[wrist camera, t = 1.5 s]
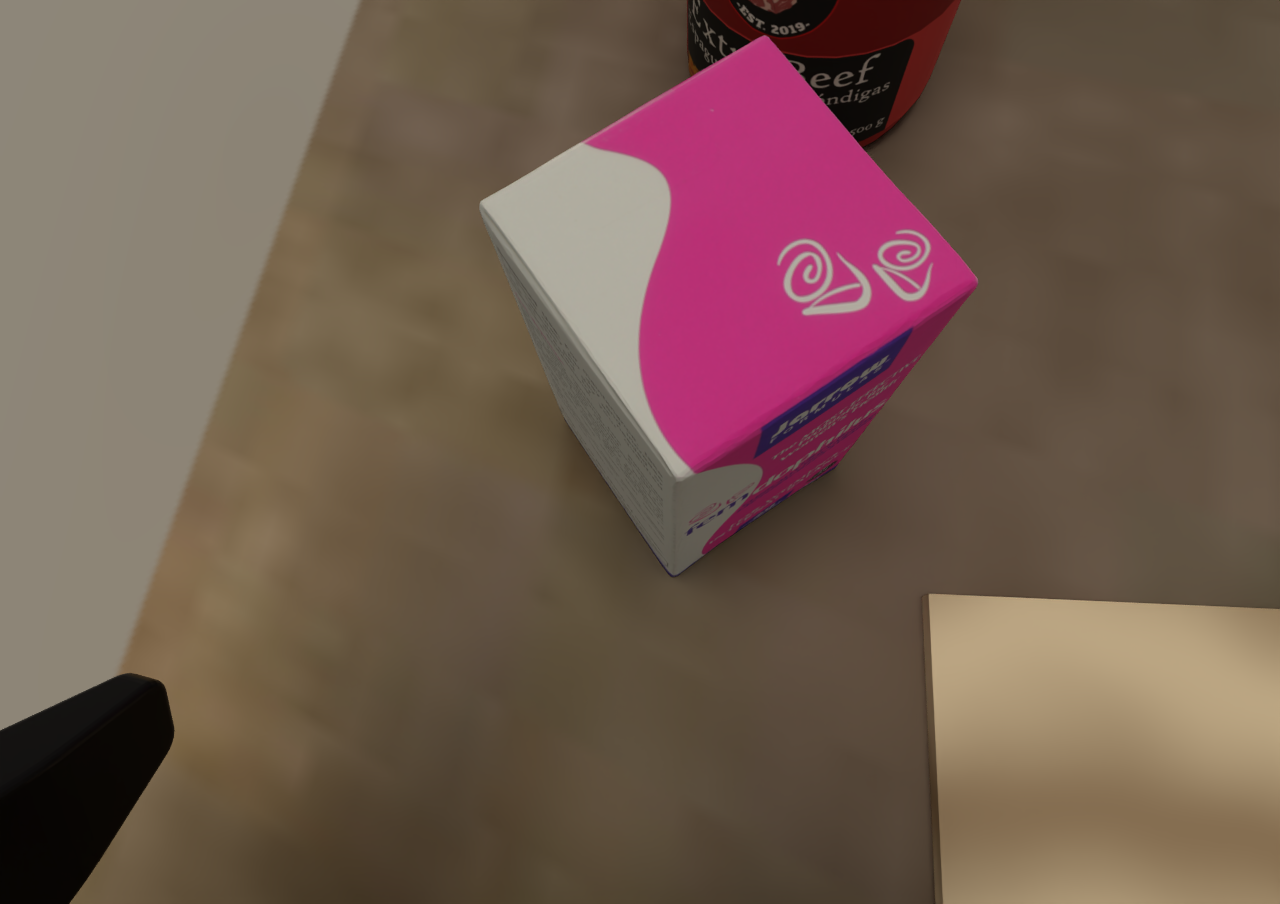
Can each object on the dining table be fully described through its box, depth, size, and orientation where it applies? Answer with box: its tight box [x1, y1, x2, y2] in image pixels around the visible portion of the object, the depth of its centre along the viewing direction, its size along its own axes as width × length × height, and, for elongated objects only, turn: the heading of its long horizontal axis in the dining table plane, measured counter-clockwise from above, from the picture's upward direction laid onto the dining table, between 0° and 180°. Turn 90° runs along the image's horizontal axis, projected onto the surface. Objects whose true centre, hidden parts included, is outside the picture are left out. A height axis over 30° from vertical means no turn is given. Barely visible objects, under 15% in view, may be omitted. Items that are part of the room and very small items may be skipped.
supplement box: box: [480, 35, 978, 577], centre depth 18 cm, size 6×6×12 cm
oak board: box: [922, 594, 1280, 904], centre depth 20 cm, size 12×12×1 cm
